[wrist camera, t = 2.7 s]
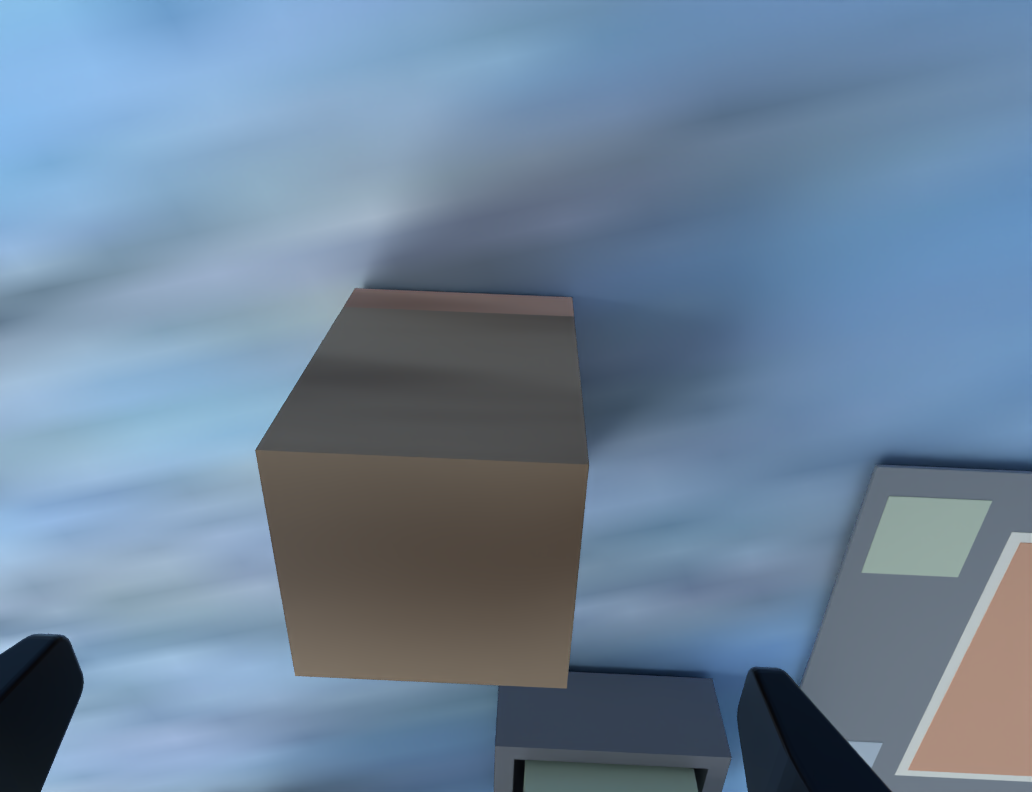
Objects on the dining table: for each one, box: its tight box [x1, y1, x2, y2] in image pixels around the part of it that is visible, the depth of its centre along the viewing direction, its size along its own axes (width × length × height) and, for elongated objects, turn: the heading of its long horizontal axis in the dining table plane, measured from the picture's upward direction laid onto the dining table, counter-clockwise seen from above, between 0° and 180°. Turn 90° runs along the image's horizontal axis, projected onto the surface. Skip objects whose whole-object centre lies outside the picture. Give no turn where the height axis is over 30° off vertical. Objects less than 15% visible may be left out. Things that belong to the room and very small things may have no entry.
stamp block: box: [255, 288, 589, 689], centre depth 13 cm, size 4×4×6 cm
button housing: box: [494, 672, 732, 792], centre depth 21 cm, size 6×6×2 cm
